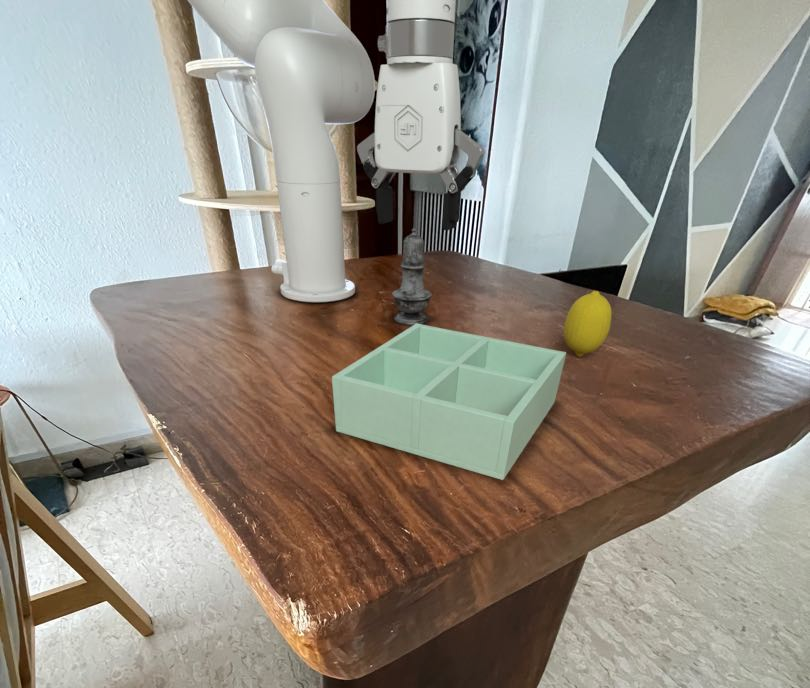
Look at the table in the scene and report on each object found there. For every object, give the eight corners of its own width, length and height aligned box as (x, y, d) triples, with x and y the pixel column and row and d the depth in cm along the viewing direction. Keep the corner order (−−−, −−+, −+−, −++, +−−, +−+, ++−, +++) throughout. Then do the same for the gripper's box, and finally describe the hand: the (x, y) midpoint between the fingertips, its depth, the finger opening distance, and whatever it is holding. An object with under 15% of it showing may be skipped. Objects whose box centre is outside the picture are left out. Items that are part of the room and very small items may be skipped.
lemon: (594, 368, 62) (613, 300, 57) (551, 358, 64) (566, 292, 59) (605, 354, 66) (624, 289, 60) (565, 345, 68) (580, 282, 62)
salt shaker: (427, 326, 72) (431, 232, 64) (388, 323, 73) (388, 229, 65) (433, 314, 77) (438, 224, 69) (396, 311, 78) (397, 222, 70)
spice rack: (335, 431, 49) (331, 376, 45) (414, 370, 60) (416, 323, 57) (503, 480, 43) (513, 422, 39) (554, 402, 54) (566, 352, 51)
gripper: (337, 48, 56) (348, 224, 67) (479, 40, 50) (465, 235, 61) (371, 54, 61) (375, 217, 72) (503, 48, 55) (486, 227, 66)
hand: (416, 225), depth 67 cm, fingers open, 9 cm apart
